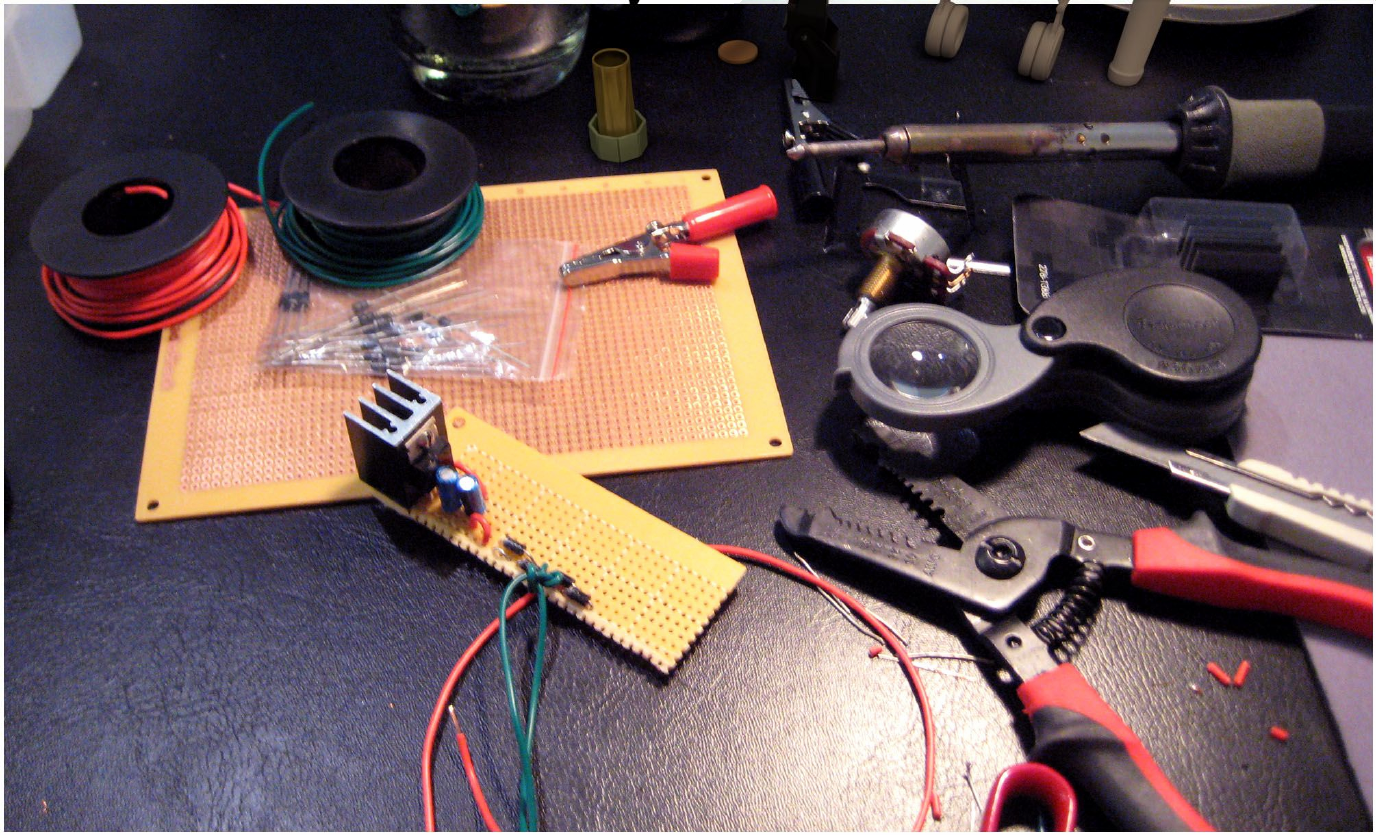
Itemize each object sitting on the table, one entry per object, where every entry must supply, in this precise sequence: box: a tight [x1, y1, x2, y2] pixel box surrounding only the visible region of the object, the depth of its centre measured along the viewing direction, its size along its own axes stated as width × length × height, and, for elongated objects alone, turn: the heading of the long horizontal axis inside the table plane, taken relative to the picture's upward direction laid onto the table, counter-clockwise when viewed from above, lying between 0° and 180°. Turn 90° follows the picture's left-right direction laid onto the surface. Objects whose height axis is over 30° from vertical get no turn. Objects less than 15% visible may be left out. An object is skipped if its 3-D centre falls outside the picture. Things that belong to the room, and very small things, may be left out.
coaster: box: [717, 39, 759, 65], centre depth 154 cm, size 7×7×1 cm
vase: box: [591, 47, 637, 138], centre depth 134 cm, size 6×6×14 cm
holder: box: [587, 108, 649, 163], centre depth 138 cm, size 8×8×4 cm
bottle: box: [1107, 0, 1172, 87], centre depth 137 cm, size 5×5×25 cm
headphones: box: [924, 0, 1071, 82], centre depth 143 cm, size 20×8×19 cm, turn 62°
